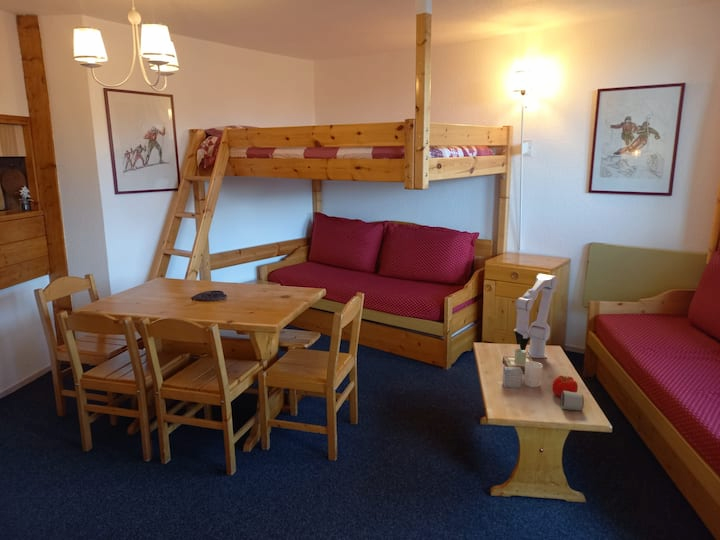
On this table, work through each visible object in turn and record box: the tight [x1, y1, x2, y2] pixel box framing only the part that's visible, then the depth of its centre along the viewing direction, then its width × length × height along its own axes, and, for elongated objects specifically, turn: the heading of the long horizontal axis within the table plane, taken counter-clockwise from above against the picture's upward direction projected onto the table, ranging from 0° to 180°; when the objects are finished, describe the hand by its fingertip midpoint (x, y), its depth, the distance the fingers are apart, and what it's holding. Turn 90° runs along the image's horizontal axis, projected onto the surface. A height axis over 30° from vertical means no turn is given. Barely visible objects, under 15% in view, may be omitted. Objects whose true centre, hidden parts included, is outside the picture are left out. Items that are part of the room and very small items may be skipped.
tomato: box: [551, 375, 579, 398], centre depth 231 cm, size 11×11×9 cm
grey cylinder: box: [560, 391, 585, 411], centre depth 221 cm, size 11×8×8 cm
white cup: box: [524, 361, 544, 388], centre depth 242 cm, size 8×8×10 cm
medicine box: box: [502, 366, 523, 389], centre depth 241 cm, size 8×4×9 cm, turn 84°
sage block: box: [514, 348, 527, 364], centre depth 262 cm, size 4×4×6 cm
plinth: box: [502, 356, 533, 373], centre depth 263 cm, size 14×14×2 cm
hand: (520, 346), depth 261 cm, fingers open, 7 cm apart
